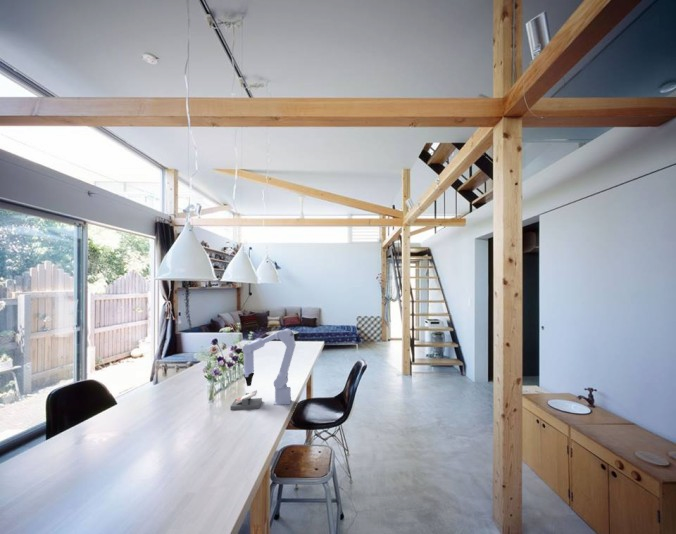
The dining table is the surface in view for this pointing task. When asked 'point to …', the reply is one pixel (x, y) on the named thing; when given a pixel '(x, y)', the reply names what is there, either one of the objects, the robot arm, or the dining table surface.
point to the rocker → (246, 396)
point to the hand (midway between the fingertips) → (249, 385)
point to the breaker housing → (246, 404)
